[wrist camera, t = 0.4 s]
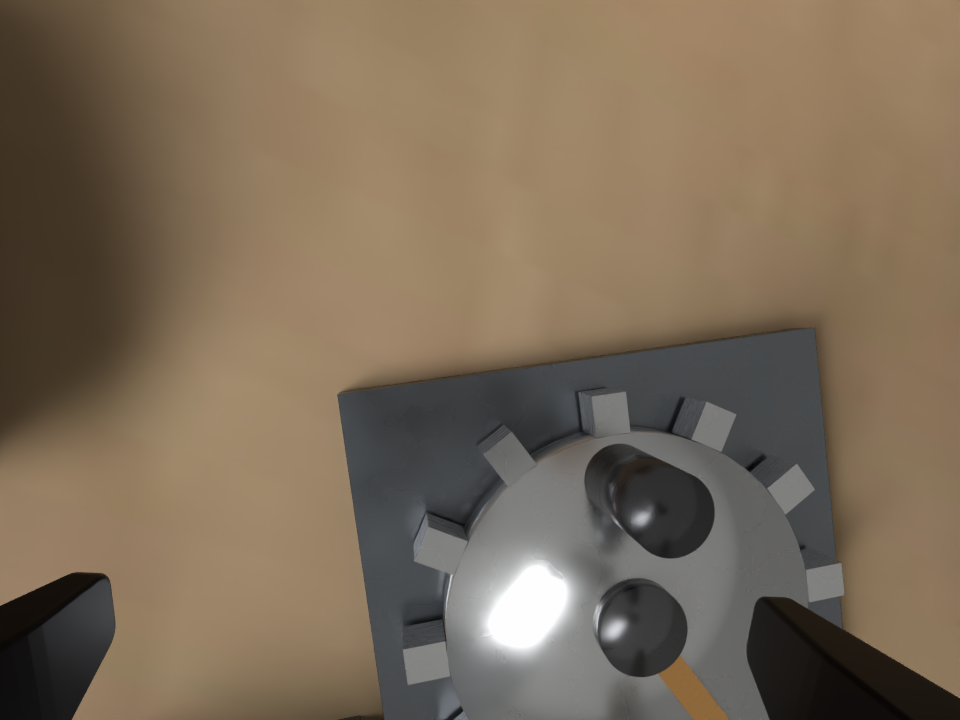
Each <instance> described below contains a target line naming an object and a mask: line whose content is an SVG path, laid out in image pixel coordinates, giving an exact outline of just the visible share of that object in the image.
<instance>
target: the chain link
mask: <svg viewBox="0 0 960 720" xmlns="http://www.w3.org/2000/svg"><path fill="white" fill-rule="evenodd" d="M339 720H360V715H359V716H354V717H349V718H344V719H339Z"/></svg>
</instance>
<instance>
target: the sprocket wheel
mask: <svg viewBox="0 0 960 720" xmlns="http://www.w3.org/2000/svg"><path fill="white" fill-rule="evenodd" d="M578 395H579V404H580V412H581V420H582V429H583V432H579V433H575V434H572V435H570V436H567V437H564V438H562V439H559V440H556V441H554V442H552V443H550V444H548V445H546V446H544V447H542V448H540V449H539V450H537V451H535V452H533V453H532V454H530V455H529V454H528V452H527V451H526V450H525V448H524V447H523V446H522V444H521V443H520V442H519V441H518V439H517V438H516V437H515V435H514V434H513V433H512V432H511V431H510V430H509V429H508V428H507V427H506V426H505V425H503V426H502V427H500V428H499V429H498V430H497V431H495V432H494V433H493V434H491V435H490V436H489V437H488V438H486V439H485V440H484V441H483V442H481V443H480V444H479V445H478V448H479V449H480V451H481V452H482V454H483V455H484V456H485V458H486V459H487V460H488V462H489V463H490V464H491V465H492V467H493V468H494V469H495V471H496V472H497V473H498V474H499V476H500V477H501V478H500V479H499V480H498V481H497V482H496V483H495V484H494V485H493V486H492V488H491V489H490V490H489V491H488V492H487V493H486V495H485V496H484V497H483V498H482V499H481V501H480V502H479V504H478V505H477V507H476V508H475V510H474V511H473V513H472V514H471V516H470V517H469V519H468V520H467V522H466V524H465V526H464V527H463V526H460V525H458V524H455V523H452V522H449V521H447V520H444V519H441V518H439V517H436V516H433V515H430V514H428V513H426V515H425V518H424V520H423V523H422V525H421V528H420V530H419V532H418V535H417V537H416V540H415V542H414V545H413V547H414V561H415V562H417V563H420V564H423V565H426V566H429V567H432V568H434V569H437V570H440V571H443V572H446V573H447V578H446V583H445V588H444V602H443V621H442V619H441V620H436V621H431V622H426V623H420V624H415V625H410V626H405V627H403V655H404V662H405V669H406V676H407V683H408V685H410V684H415V683H420V682H425V681H430V680H435V679H439V678H444V677H449V676H450V672H451V677H452V682H453V685H454V688H455V691H456V693H457V696H458V699H459V702H460V705H461V707H462V709H463V712H462V713H461V714H460V715H458V716H457V717H456V718H455V719H454V720H769V717H768V715H767V712H766V709H765V707H764V704H763V701H762V699H761V696H760V693H759V691H758V688H757V686H756V683H755V680H754V678H753V675H752V672H751V670H750V667H749V664H748V661H747V657H746V641H747V636H748V632H749V627H750V623H751V618H752V614H753V609H754V605H755V602H756V601H757V599H759V598H760V597H763V596H768V597H787V598H790V599H792V600H794V601H796V602H797V603H799V604H801V605H803V606H804V607H806V608H808V602H814V601H818V600H823V599H828V598H833V597H838V596H843V595H844V584H843V573H842V563H841V562H839V561H837V560H835V559H833V558H831V557H829V556H827V555H825V554H823V553H821V552H820V551H818V550H816V549H814V548H809V549H804V550H800V548H799V545H798V542H797V539H796V537H795V535H794V532H793V530H792V528H791V526H790V523H789V521H788V520H787V518H786V516H785V515H784V514H787V513H788V512H789V511H790V510H792V509H793V508H794V507H795V506H796V505H797V504H799V503H800V502H801V501H802V500H803V499H805V498H806V497H807V496H808V495H809V494H810V493H812V492H813V491H814V490H815V489H814V487H813V486H812V485H811V483H810V482H809V480H808V479H807V477H806V476H805V475H804V473H803V472H802V470H801V469H800V467H799V466H798V465H797V464H796V463H793V462H790V461H787V460H784V459H781V458H778V457H775V456H772V455H770V456H768V457H767V458H766V459H765V460H764V461H762V462H761V463H760V464H759V465H758V466H756V467H755V468H754V469H753V470H752V471H750V472H748V471H747V470H746V469H745V468H744V467H742V466H741V465H739V464H738V463H736V462H735V461H733V460H732V459H731V458H729V457H728V456H726V455H724V454H722V453H720V452H721V451H722V449H723V447H724V444H725V442H726V439H727V437H728V434H729V432H730V429H731V427H732V424H733V422H734V419H735V417H736V414H734V413H732V412H730V411H727V410H725V409H723V408H720V407H718V406H716V405H713V404H711V403H709V402H706V401H701V400H697V399H692V398H688V397H685V400H684V402H683V405H682V407H681V410H680V412H679V415H678V417H677V419H676V422H675V424H674V427H673V429H672V433H674V434H672V433H669V432H666V431H661V430H656V429H651V428H645V427H630V424H629V415H628V406H627V397H626V391H622V390H618V389H614V388H604V389H597V390H590V391H583V392H578ZM675 434H677V435H675ZM678 435H679V436H678ZM681 436H682V437H681ZM714 449H715V450H714ZM716 450H717V451H716ZM718 451H720V452H718ZM443 622H444V628H443ZM448 662H449V664H448ZM449 667H450V671H449Z"/></svg>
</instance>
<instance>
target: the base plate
mask: <svg viewBox="0 0 960 720" xmlns="http://www.w3.org/2000/svg"><path fill="white" fill-rule="evenodd" d="M604 388H614V389H618V390H622V391H626V397H627V406H628V415H629V424H630V427H645V428H651V429H656V430H661V431H666V432H669V433H672V429H673V427H674V424H675V422H676V419H677V417H678V415H679V412H680V410H681V407H682V405H683V402H684V400H685V397H688V398H692V399H697V400H701V401H706V402H709V403H711V404H713V405H716V406H718V407H720V408H723V409H725V410H727V411H730V412H732V413H734V414H736V417H735V419H734V422H733V424H732V427H731V429H730V432H729V434H728V437H727V439H726V442H725V444H724V447H723V449H722V451H721V452H720V451H718V452H720V453H722V454H724V455H726V456H728V457H729V458H731V459H732V460H733V461H735V462H736V463H738V464H739V465H741V466H742V467H744V468H745V469H746V470H747V471H748V472H750V471H752V470H753V469H754V468H755V467H756V466H758V465H759V464H760V463H761V462H762V461H764V460H765V459H766V458H767V457H768V456H770V455H772V456H775V457H778V458H781V459H784V460H787V461H790V462H793V463H796V464H797V465H798V466H799V467H800V469H801V470H802V472H803V473H804V475H805V476H806V477H807V479H808V480H809V482H810V483H811V485H812V486H813V487H814V489H815V490H814V491H813V492H812V493H810V494H809V495H808V496H807V497H806V498H805V499H803V500H802V501H801V502H800V503H799V504H797V505H796V506H795V507H794V508H793V509H792V510H790V511H789V512H788V513H787V514H784V515H785V516H786V518H787V520H788V521H789V523H790V526H791V528H792V530H793V532H794V535H795V537H796V539H797V542H798V545H799V548H800V550H804V549H809V548H814V549H816V550H818V551H820V552H821V553H823V554H825V555H827V556H829V557H831V558H833V559H835V560H836V552H835V541H834V531H833V520H832V509H831V499H830V488H829V477H828V466H827V456H826V445H825V434H824V424H823V413H822V402H821V392H820V381H819V370H818V360H817V349H816V338H815V328H794V329H787V330H779V331H772V332H765V333H758V334H751V335H744V336H737V337H729V338H722V339H715V340H708V341H701V342H694V343H686V344H679V345H672V346H665V347H658V348H651V349H644V350H636V351H629V352H622V353H615V354H608V355H601V356H594V357H586V358H579V359H572V360H565V361H558V362H551V363H544V364H536V365H529V366H522V367H515V368H508V369H501V370H493V371H486V372H479V373H472V374H465V375H458V376H451V377H443V378H436V379H429V380H422V381H415V382H408V383H401V384H393V385H386V386H379V387H372V388H365V389H358V390H350V391H343V392H340V393H339V394H338V395H337V396H338V402H339V409H340V416H341V423H342V430H343V437H344V444H345V451H346V458H347V465H348V472H349V478H350V485H351V492H352V499H353V506H354V513H355V520H356V527H357V534H358V541H359V548H360V554H361V561H362V568H363V575H364V582H365V589H366V596H367V603H368V610H369V617H370V624H371V630H372V637H373V644H374V651H375V658H376V665H377V672H378V679H379V686H380V693H381V700H382V706H383V713H384V720H454V719H455V718H456V717H457V716H458V715H460V714H461V713H462V712H463V709H462V707H461V705H460V702H459V699H458V696H457V693H456V691H455V688H454V685H453V682H452V677H451V672H450V676H449V677H444V678H439V679H435V680H430V681H425V682H420V683H415V684H410V685H408V683H407V676H406V669H405V662H404V655H403V627H405V626H410V625H415V624H420V623H426V622H431V621H436V620H441V619H442V621H443V602H444V588H445V583H446V578H447V573H446V572H443V571H440V570H437V569H434V568H432V567H429V566H426V565H423V564H420V563H417V562H415V561H414V547H413V545H414V542H415V540H416V537H417V535H418V532H419V530H420V528H421V525H422V523H423V520H424V518H425V515H426V513H428V514H430V515H433V516H436V517H439V518H441V519H444V520H447V521H449V522H452V523H455V524H458V525H460V526H463V527H464V526H465V524H466V522H467V520H468V519H469V517H470V516H471V514H472V513H473V511H474V510H475V508H476V507H477V505H478V504H479V502H480V501H481V499H482V498H483V497H484V496H485V495H486V493H487V492H488V491H489V490H490V489H491V488H492V486H493V485H494V484H495V483H496V482H497V481H498V480H499V479H500V478H501V477H500V476H499V474H498V473H497V472H496V471H495V469H494V468H493V467H492V465H491V464H490V463H489V462H488V460H487V459H486V458H485V456H484V455H483V454H482V452H481V451H480V449H479V448H478V445H479V444H480V443H481V442H483V441H484V440H485V439H486V438H488V437H489V436H490V435H491V434H493V433H494V432H495V431H497V430H498V429H499V428H500V427H502V426H503V425H505V426H506V427H507V428H508V429H509V430H510V431H511V432H512V433H513V434H514V435H515V437H516V438H517V439H518V441H519V442H520V443H521V444H522V446H523V447H524V448H525V450H526V451H527V452H528V454H529V455H530V454H532V453H533V452H535V451H537V450H539V449H540V448H542V447H544V446H546V445H548V444H550V443H552V442H554V441H556V440H559V439H562V438H564V437H567V436H570V435H572V434H575V433H579V432H583V429H582V420H581V412H580V404H579V395H578V392H583V391H590V390H597V389H604ZM672 434H674V433H672ZM675 435H677V434H675ZM678 436H679V435H678ZM681 437H682V436H681ZM714 450H715V449H714ZM716 451H717V450H716ZM808 609H809V610H811V611H813V612H814V613H816V614H818V615H819V616H821V617H823V618H825V619H826V620H828V621H830V622H831V623H833V624H835V625H836V626H838V627H840V628H841V629H843V627H842V616H841V605H840V596H838V597H833V598H828V599H823V600H818V601H814V602H808ZM443 628H444V622H443ZM448 664H449V662H448ZM449 671H450V667H449Z"/></svg>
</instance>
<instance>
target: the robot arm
mask: <svg viewBox="0 0 960 720" xmlns="http://www.w3.org/2000/svg"><path fill="white" fill-rule="evenodd" d="M114 633H115V615H114V607H113V599H112V591H111V584H110V580H109V578H108V577H107V576H106V575H105V574H103V573H86V572H75V573H71V574H68V575H66V576H64V577H62V578H60V579H58V580H55V581H53V582H51V583H49V584H47V585H44V586H42V587H40V588H38V589H36V590H34V591H31V592H29V593H27V594H25V595H23V596H21V597H18V598H16V599H14V600H12V601H10V602H8V603H5V604H3V605H1V606H0V720H72V718H73V716H74V714H75V712H76V710H77V708H78V706H79V705H80V703H81V701H82V699H83V697H84V695H85V693H86V691H87V689H88V687H89V685H90V683H91V682H92V680H93V678H94V676H95V674H96V672H97V670H98V668H99V666H100V664H101V662H102V660H103V659H104V657H105V655H106V653H107V651H108V649H109V647H110V645H111V643H112V640H113V637H114ZM746 657H747V661H748V664H749V667H750V670H751V672H752V675H753V678H754V680H755V683H756V686H757V688H758V691H759V693H760V696H761V699H762V701H763V704H764V707H765V709H766V712H767V715H768V717H769V720H960V698H958V697H957V696H955V695H953V694H951V693H950V692H948V691H946V690H945V689H943V688H941V687H940V686H938V685H936V684H935V683H933V682H931V681H929V680H928V679H926V678H924V677H923V676H921V675H919V674H918V673H916V672H914V671H913V670H911V669H909V668H907V667H906V666H904V665H902V664H901V663H899V662H897V661H896V660H894V659H892V658H891V657H889V656H887V655H885V654H884V653H882V652H880V651H879V650H877V649H875V648H874V647H872V646H870V645H869V644H867V643H865V642H863V641H862V640H860V639H858V638H857V637H855V636H853V635H852V634H850V633H848V632H847V631H845V630H843V629H841V628H840V627H838V626H836V625H835V624H833V623H831V622H830V621H828V620H826V619H825V618H823V617H821V616H819V615H818V614H816V613H814V612H813V611H811V610H809V609H808V608H806V607H804V606H803V605H801V604H799V603H797V602H796V601H794V600H792V599H790V598H787V597H768V596H763V597H760V598H759V599H757V601H756V602H755V605H754V609H753V614H752V618H751V623H750V627H749V632H748V636H747V641H746Z"/></svg>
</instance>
